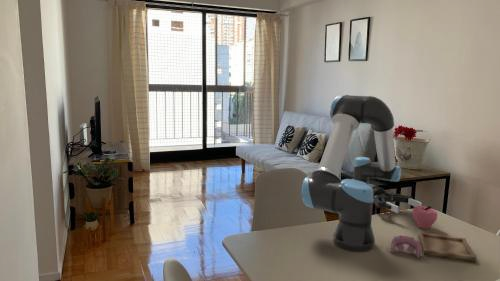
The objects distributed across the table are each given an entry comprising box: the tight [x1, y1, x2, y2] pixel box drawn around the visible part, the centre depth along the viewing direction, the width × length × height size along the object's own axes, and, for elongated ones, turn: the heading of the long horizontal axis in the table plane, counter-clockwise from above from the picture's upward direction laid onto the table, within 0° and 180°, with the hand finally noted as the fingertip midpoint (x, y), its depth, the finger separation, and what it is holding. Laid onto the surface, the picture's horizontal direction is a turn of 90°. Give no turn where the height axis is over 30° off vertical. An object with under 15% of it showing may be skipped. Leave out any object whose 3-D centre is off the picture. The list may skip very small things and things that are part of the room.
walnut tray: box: [418, 232, 477, 264], centre depth 138 cm, size 16×16×2 cm
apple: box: [411, 205, 438, 230], centre depth 157 cm, size 10×9×10 cm
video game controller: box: [390, 235, 422, 259], centre depth 135 cm, size 10×5×7 cm, turn 66°
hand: (409, 207), depth 164 cm, fingers open, 13 cm apart
